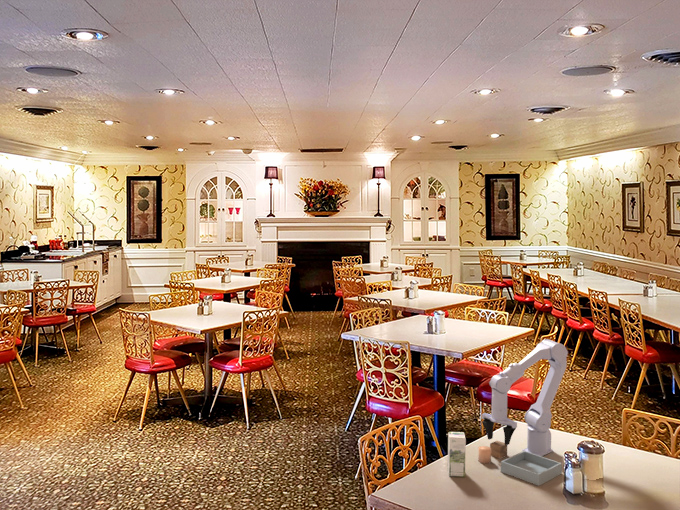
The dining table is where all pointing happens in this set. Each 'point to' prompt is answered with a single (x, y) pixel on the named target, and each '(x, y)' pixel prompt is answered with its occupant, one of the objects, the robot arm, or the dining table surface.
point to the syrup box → (456, 454)
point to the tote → (531, 467)
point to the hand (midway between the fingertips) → (498, 441)
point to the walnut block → (498, 449)
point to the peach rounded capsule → (484, 455)
